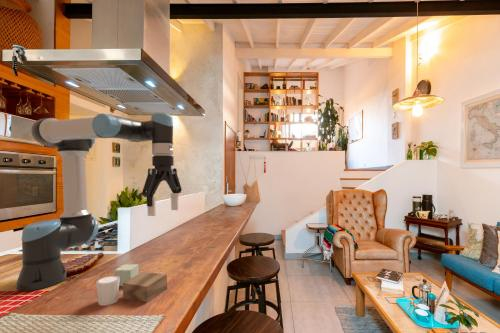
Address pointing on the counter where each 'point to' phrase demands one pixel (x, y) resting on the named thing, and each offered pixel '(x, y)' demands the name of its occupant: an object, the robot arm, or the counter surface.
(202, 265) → the counter surface
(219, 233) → the counter surface
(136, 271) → the sage block
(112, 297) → the shot glass
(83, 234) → the robot arm
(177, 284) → the counter surface
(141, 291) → the walnut block
